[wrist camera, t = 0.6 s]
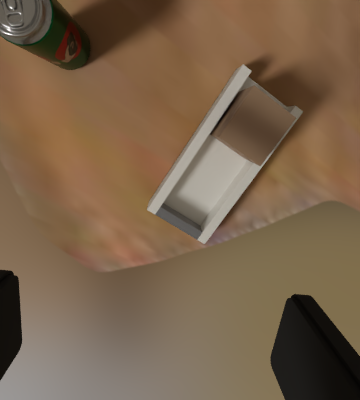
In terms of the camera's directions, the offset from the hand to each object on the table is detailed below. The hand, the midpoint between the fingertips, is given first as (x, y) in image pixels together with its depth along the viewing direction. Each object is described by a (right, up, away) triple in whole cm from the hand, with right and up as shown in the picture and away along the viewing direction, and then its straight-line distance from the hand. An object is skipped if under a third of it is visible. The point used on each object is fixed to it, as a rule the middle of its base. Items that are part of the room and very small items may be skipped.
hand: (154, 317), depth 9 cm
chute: (+6, +10, +26) cm, 28 cm away
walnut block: (+9, +14, +25) cm, 30 cm away
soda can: (-12, +22, +22) cm, 33 cm away
